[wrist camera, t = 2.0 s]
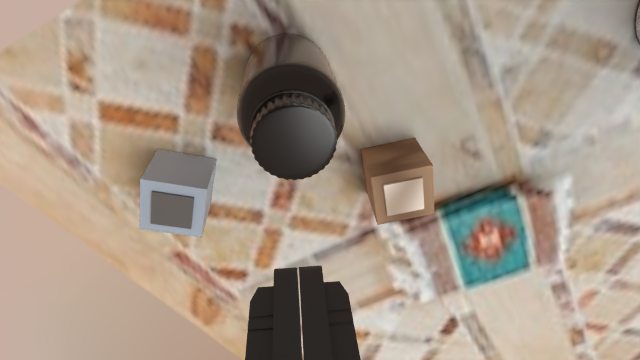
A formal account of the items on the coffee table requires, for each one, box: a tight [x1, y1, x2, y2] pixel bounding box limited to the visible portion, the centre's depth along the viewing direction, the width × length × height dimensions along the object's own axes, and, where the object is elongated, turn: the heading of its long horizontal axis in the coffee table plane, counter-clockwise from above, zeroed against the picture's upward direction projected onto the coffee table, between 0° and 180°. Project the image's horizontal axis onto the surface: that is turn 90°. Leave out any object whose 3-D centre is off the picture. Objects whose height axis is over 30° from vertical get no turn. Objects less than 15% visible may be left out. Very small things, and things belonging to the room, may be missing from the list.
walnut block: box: [361, 138, 434, 225], centre depth 34 cm, size 5×5×5 cm
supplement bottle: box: [237, 34, 345, 180], centre depth 26 cm, size 7×7×12 cm
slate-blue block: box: [140, 149, 216, 237], centre depth 33 cm, size 5×5×5 cm
